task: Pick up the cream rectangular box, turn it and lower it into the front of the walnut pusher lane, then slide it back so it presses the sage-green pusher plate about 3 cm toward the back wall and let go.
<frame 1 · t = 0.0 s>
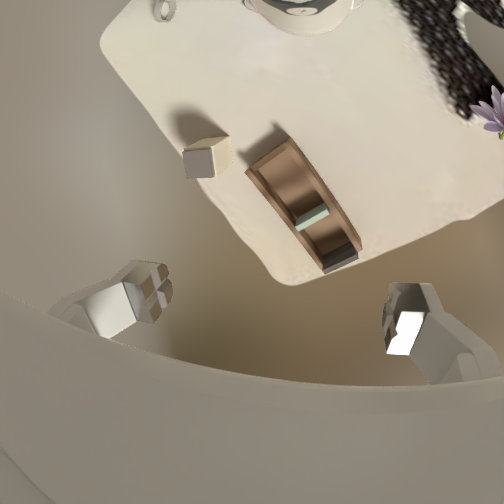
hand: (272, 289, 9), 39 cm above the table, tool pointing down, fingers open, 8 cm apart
pusher plate: (312, 216, 46), point 3 cm above the table, slide at 0.0 cm
pusher lane: (308, 202, 48), on the table
water lily: (494, 112, 27), on the table
cream rectangular box: (218, 150, 47), on the table
grey ring: (172, 12, 32), on the table
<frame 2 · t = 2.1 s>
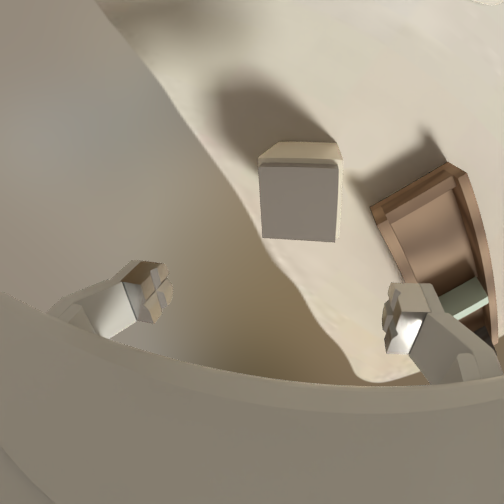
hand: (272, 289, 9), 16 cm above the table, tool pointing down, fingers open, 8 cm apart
pusher plate: (458, 302, 21), point 3 cm above the table, slide at 0.0 cm
pusher lane: (447, 276, 24), on the table
cream rectangular box: (308, 169, 23), on the table
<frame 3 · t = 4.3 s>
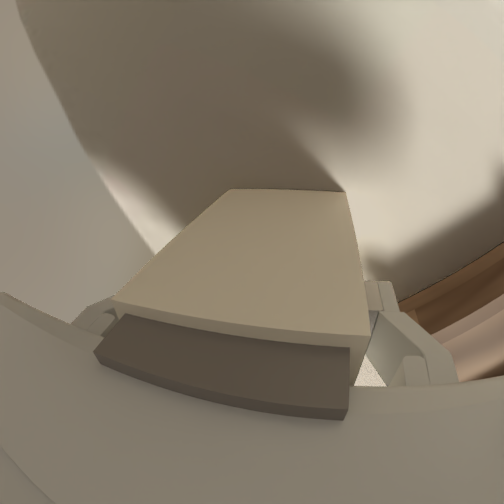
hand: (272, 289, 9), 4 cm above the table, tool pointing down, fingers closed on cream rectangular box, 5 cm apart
pusher lane: (481, 374, 13), on the table
cream rectangular box: (287, 242, 12), on the table, touching gripper
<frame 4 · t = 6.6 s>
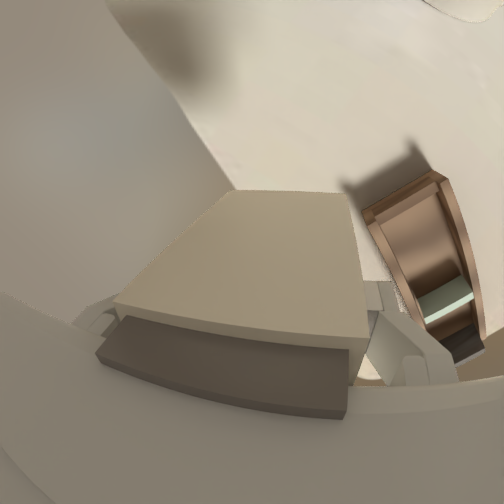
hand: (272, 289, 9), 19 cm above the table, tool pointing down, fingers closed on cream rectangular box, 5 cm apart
pusher plate: (445, 298, 24), point 3 cm above the table, slide at 0.0 cm
pusher lane: (434, 274, 26), on the table
cream rectangular box: (287, 243, 12), point 15 cm above the table, touching gripper
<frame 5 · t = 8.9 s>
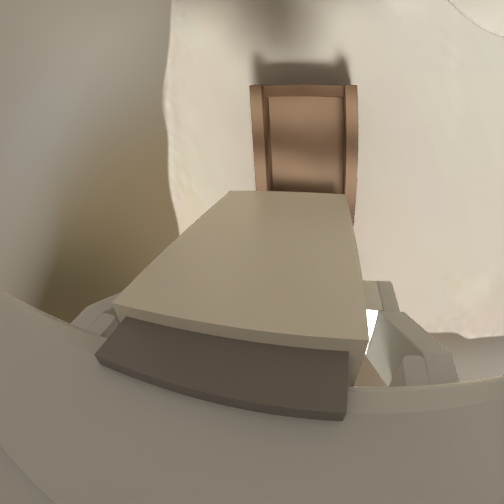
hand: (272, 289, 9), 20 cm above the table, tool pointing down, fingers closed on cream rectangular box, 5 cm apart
pusher lane: (308, 198, 28), on the table
cream rectangular box: (287, 244, 12), point 16 cm above the table, touching gripper
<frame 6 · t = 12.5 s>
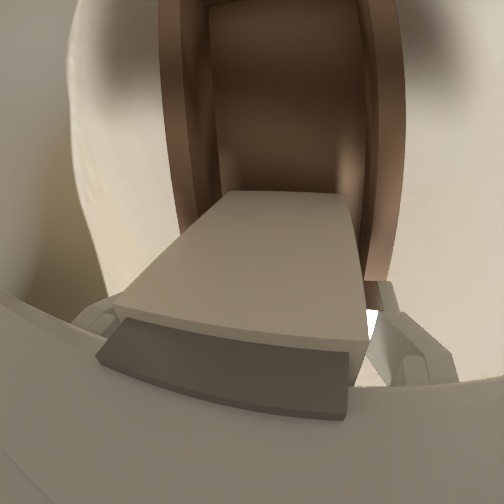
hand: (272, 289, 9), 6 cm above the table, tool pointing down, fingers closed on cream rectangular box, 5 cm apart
pusher lane: (293, 195, 14), on the table
cream rectangular box: (287, 244, 12), point 3 cm above the table, touching gripper
when the fingers open (6 cm above the table, at t = 13.5 s): cream rectangular box drops 1 cm, resting on pusher lane.
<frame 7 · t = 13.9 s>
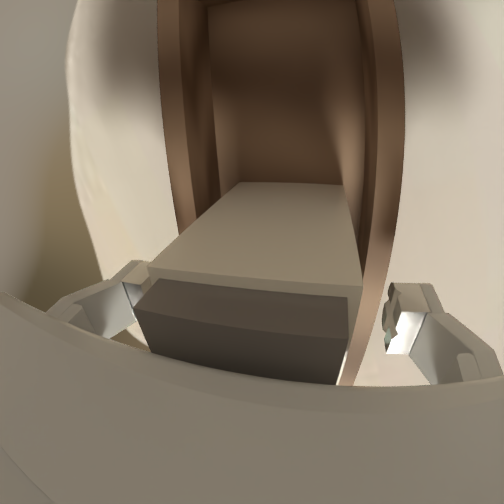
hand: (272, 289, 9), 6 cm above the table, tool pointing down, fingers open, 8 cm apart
pusher lane: (292, 195, 14), on the table
cream rectangular box: (290, 230, 14), point 1 cm above the table, touching pusher lane
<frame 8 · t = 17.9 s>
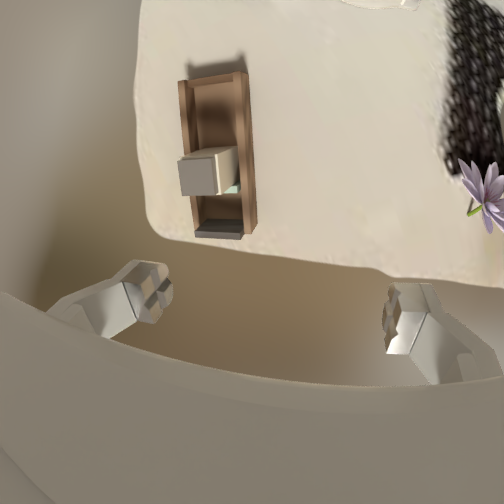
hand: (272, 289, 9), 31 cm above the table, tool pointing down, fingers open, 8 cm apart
pusher plate: (219, 186, 38), point 3 cm above the table, slide at 3.1 cm
pusher lane: (223, 151, 39), on the table
water lily: (479, 186, 30), on the table
cream rectangular box: (222, 163, 38), point 1 cm above the table, touching pusher lane
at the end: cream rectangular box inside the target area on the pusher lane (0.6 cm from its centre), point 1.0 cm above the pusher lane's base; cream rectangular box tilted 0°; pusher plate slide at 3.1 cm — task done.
